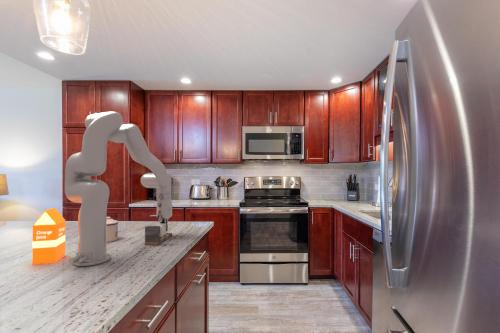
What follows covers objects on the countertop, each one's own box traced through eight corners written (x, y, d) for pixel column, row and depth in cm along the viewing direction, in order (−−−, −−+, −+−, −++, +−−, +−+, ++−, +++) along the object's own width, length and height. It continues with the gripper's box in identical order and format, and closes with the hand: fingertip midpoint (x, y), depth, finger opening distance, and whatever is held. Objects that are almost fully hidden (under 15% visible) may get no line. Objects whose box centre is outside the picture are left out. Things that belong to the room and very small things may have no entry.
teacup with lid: (120, 240, 131) (120, 217, 131) (99, 243, 125) (99, 219, 125) (114, 235, 140) (114, 214, 140) (94, 238, 134) (95, 216, 134)
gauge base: (157, 245, 122) (157, 227, 122) (144, 245, 122) (145, 227, 122) (172, 235, 140) (172, 219, 140) (161, 235, 140) (161, 219, 140)
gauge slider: (162, 238, 127) (162, 226, 127) (151, 238, 128) (151, 225, 128) (167, 235, 133) (167, 223, 133) (157, 235, 134) (157, 223, 134)
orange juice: (31, 264, 98) (32, 211, 98) (43, 256, 106) (44, 207, 106) (56, 262, 100) (56, 210, 100) (65, 255, 108) (66, 207, 109)
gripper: (165, 198, 129) (164, 235, 129) (176, 195, 144) (176, 228, 144) (150, 198, 130) (150, 235, 129) (163, 195, 144) (163, 228, 144)
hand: (163, 231), depth 136 cm, fingers closed
